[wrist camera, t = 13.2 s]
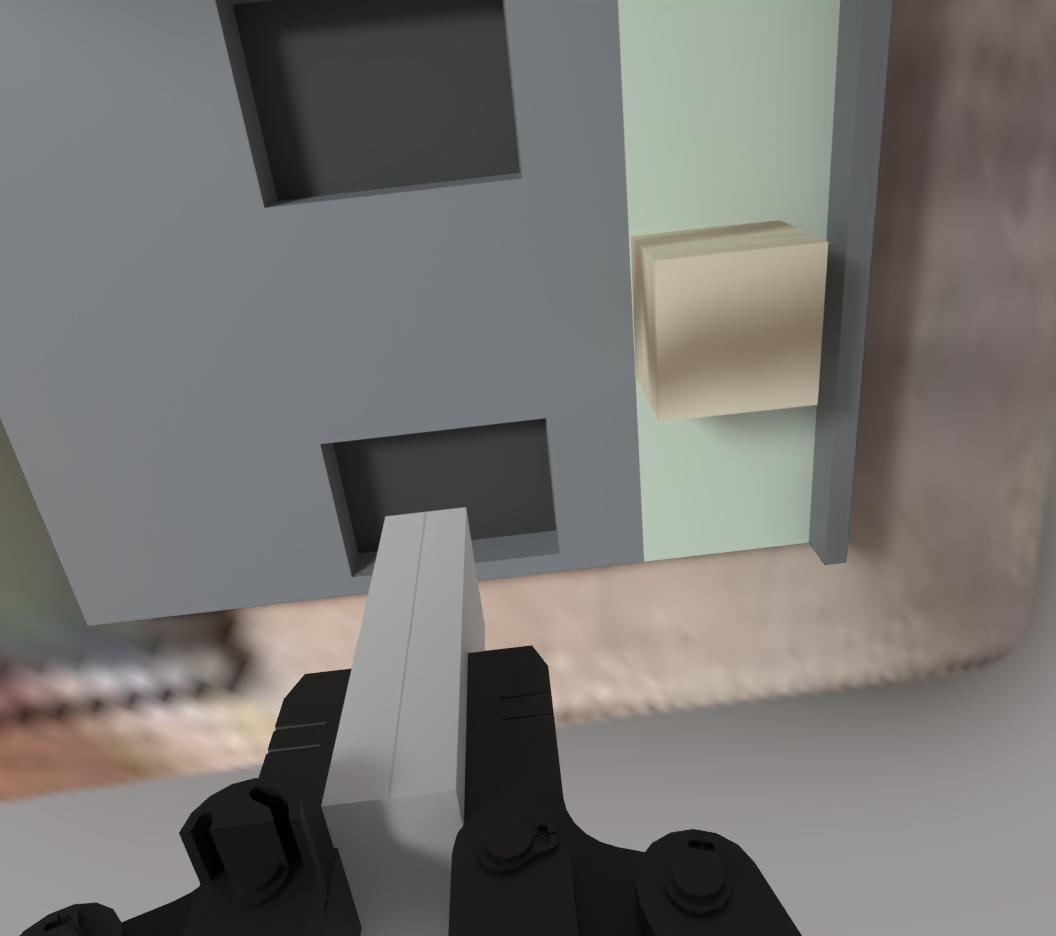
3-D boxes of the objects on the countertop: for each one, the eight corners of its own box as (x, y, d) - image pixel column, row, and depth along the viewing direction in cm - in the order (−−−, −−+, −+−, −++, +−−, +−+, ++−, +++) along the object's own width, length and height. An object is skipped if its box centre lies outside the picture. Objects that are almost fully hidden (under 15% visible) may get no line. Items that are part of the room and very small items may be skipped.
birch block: (630, 236, 32) (654, 260, 27) (779, 220, 32) (828, 241, 27) (635, 378, 34) (659, 421, 30) (773, 363, 35) (817, 404, 30)
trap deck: (-122, 14, 29) (-219, 2, 25) (845, -97, 30) (903, -126, 25) (109, 595, 41) (68, 652, 37) (810, 515, 41) (846, 562, 37)
